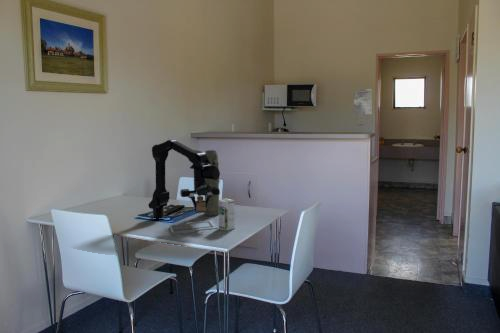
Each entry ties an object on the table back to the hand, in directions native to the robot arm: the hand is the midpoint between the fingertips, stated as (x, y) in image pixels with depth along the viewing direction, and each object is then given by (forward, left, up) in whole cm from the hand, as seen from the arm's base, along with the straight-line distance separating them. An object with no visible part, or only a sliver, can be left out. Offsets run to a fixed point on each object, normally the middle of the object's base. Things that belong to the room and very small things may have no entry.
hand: (200, 209), depth 219 cm
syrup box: (+9, +11, -9) cm, 17 cm away
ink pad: (+4, -10, -9) cm, 14 cm away
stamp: (0, 0, -1) cm, 1 cm away
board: (0, 0, -9) cm, 9 cm away
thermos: (-21, +10, -9) cm, 25 cm away
